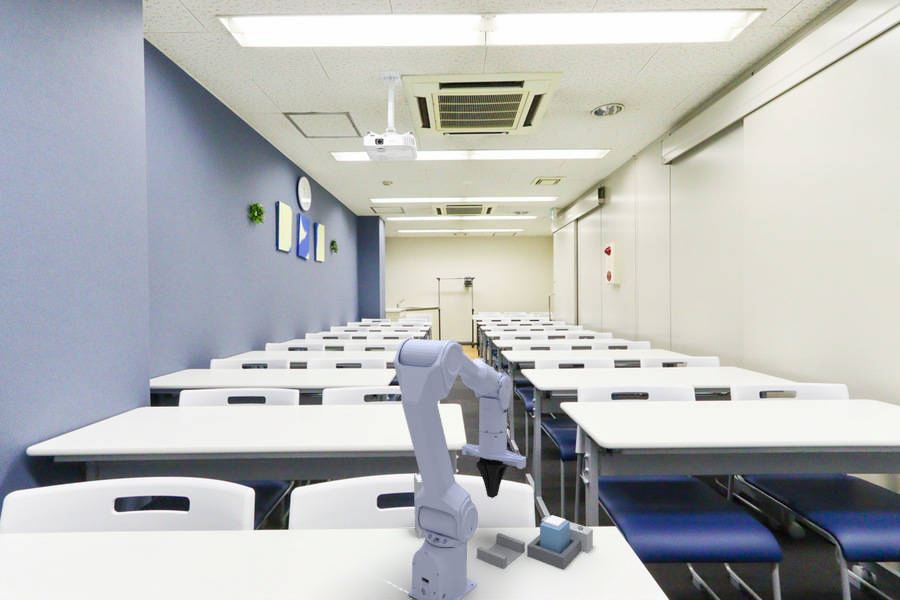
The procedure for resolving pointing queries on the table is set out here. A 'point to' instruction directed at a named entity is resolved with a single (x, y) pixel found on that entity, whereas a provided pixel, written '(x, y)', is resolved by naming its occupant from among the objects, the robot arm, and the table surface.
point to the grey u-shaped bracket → (502, 551)
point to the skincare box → (417, 486)
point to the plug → (555, 534)
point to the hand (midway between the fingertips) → (492, 495)
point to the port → (578, 542)
